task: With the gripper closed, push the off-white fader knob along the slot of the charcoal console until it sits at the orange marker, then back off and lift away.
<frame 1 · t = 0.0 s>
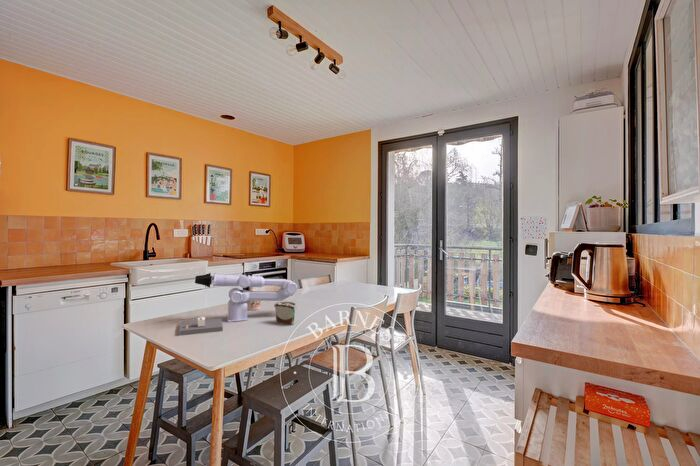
hand: (195, 279, 164), 22 cm above the table, tool horizontal, fingers open, 7 cm apart
console: (201, 327, 158), on the table
teacup with lid: (254, 308, 195), on the table
fader knob: (201, 321, 155), point 4 cm above the table, slide at 0.0 cm
food container: (287, 322, 169), on the table
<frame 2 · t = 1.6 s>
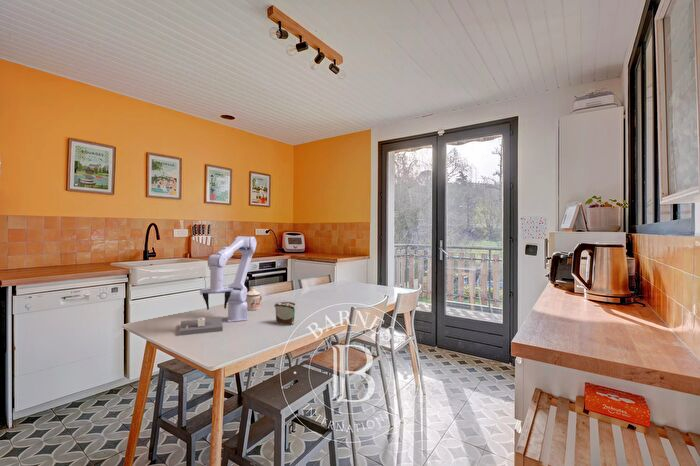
hand: (216, 308, 157), 9 cm above the table, tool pointing down, fingers open, 7 cm apart
nothing on the table moved.
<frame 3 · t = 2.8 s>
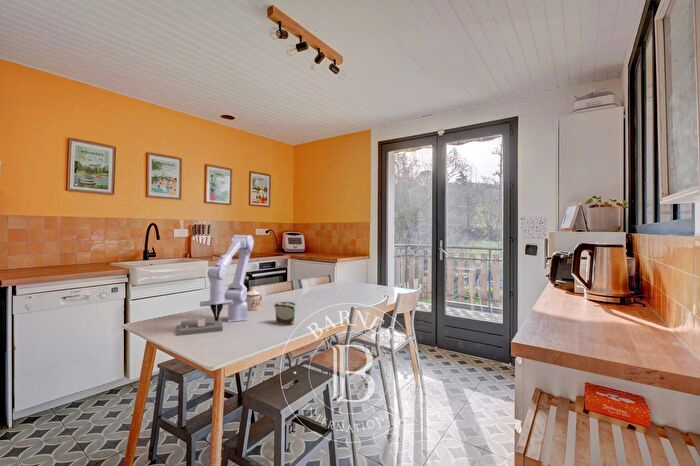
hand: (216, 320, 157), 4 cm above the table, tool pointing down, fingers closed
nothing on the table moved.
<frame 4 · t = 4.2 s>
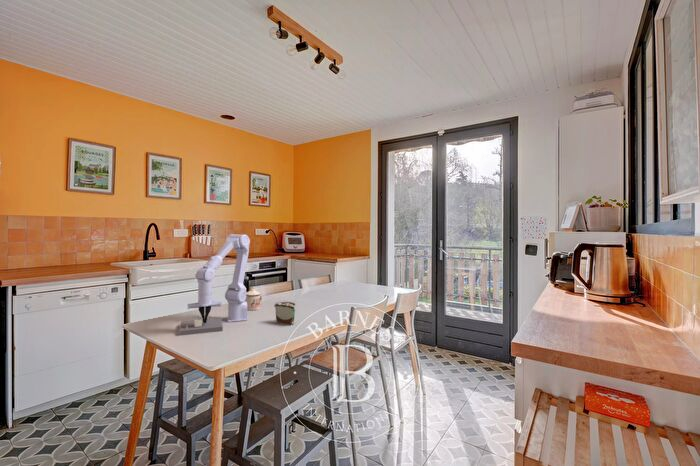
hand: (204, 322, 155), 3 cm above the table, tool pointing down, fingers closed
fader knob: (198, 321, 154), point 4 cm above the table, slide at 1.3 cm, touching gripper
everything else where it was.
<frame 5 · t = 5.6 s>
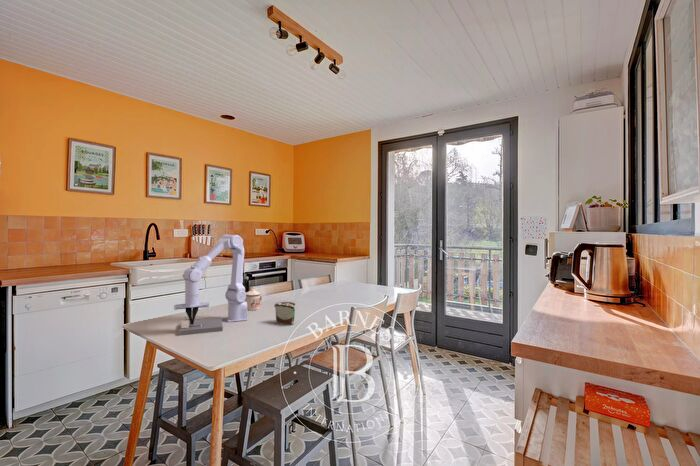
hand: (191, 323, 153), 3 cm above the table, tool pointing down, fingers closed
fader knob: (185, 322, 152), point 4 cm above the table, slide at 6.7 cm, touching gripper
everything else where it was.
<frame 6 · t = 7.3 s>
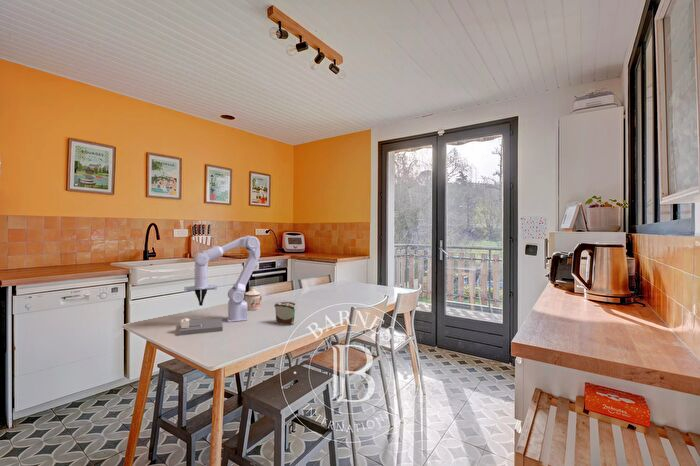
hand: (200, 305, 163), 9 cm above the table, tool pointing down, fingers closed
fader knob: (185, 322, 152), point 4 cm above the table, slide at 6.7 cm
everything else where it was.
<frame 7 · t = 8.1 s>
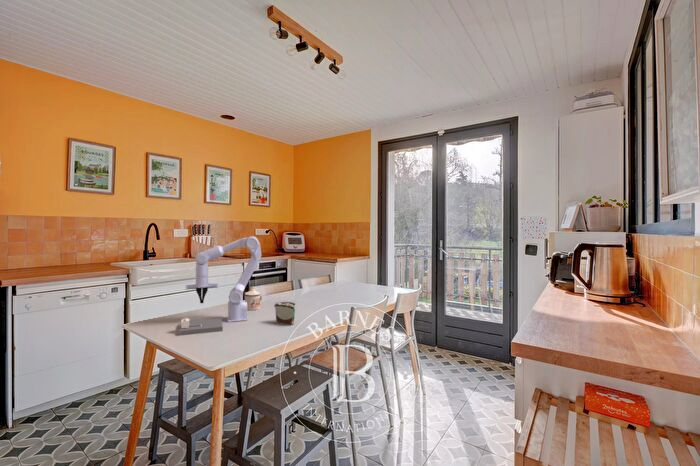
hand: (201, 302, 167), 9 cm above the table, tool pointing down, fingers closed
nothing on the table moved.
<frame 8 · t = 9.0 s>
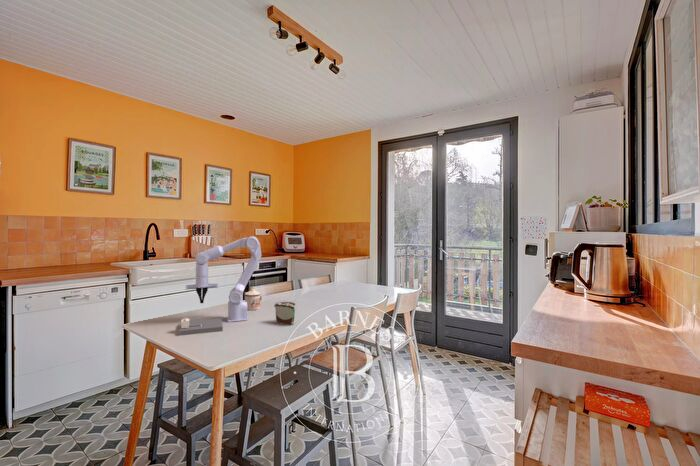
hand: (201, 302, 167), 9 cm above the table, tool pointing down, fingers closed
nothing on the table moved.
at the end: fader knob slide at 6.7 cm; teacup with lid moved 0.2 cm from its start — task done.
